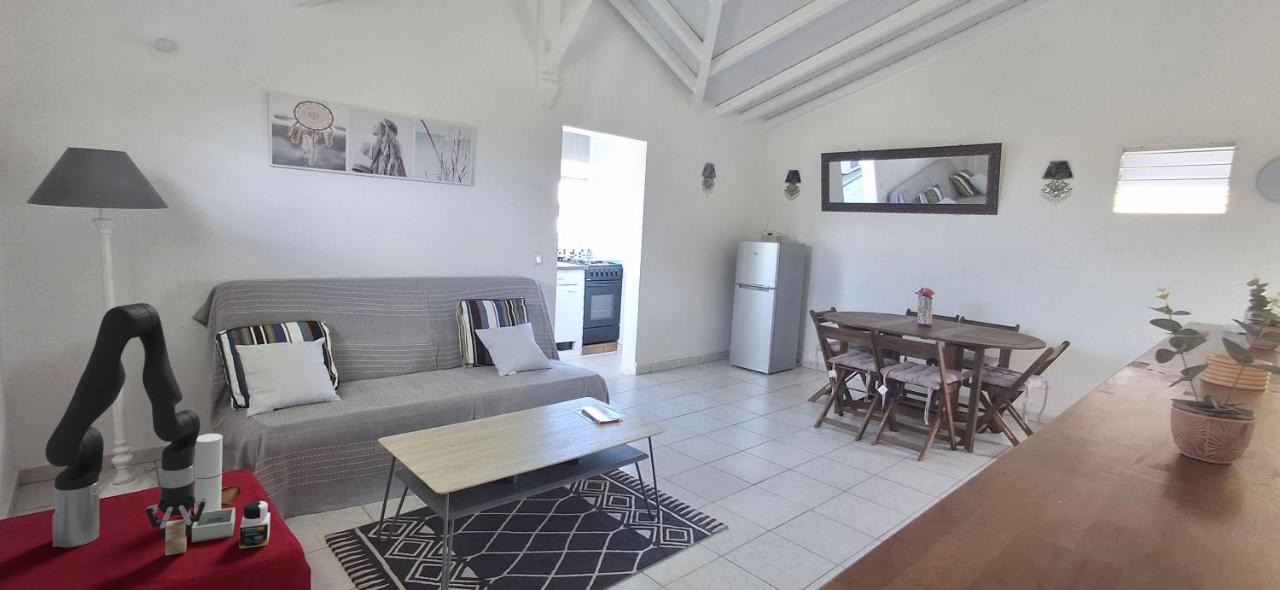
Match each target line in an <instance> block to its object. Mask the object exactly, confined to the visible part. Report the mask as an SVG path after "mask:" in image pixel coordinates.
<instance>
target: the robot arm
mask: <svg viewBox="0 0 1280 590" xmlns="http://www.w3.org/2000/svg"><path fill="white" fill-rule="evenodd" d="M134 338H135V339H136V338H139V340H140V343H142V346H143V351H144V360H143V361H144V362H143V367H142V369H143V370H142V376H141V377H142V385H143V387H144V390H145V392H146V395H147V397H148V399H149V402H150V404H151V414H152V427H153V430H154V433H155V435H156V436H157V437H158V439H160V440H161V441H163V442H166V443H167V442H168V443H169V445H167V446H166V447H164V448H163V450H162V453H161V471H160V476H159V477H160V478H159V479H160V480H159V481H160V483H159V484H160V485H159V486H160V487H159V488H160V489H159V502H158V503H157V504H154V505H152V504H150V505H147V508H146V509H145V513H146V516H147V518H148V520H149V523H150V525H151V527H152V528H159V531H160V532H159V537H160V539H162V541H165V540H166V524H167V521H169V519H170V517H171V518H172V517H174V516H182V518H183V519H185V522H186V533H185V537H187V538H188V537H189V536H190V535H192V527H193V523H194V522H198V521H199V519H200V517H201V514H202V512H203V509H204V506H205V504H206V499H202V500H196V499H195V497H194V495H193V494H194V488H195V467H194V450H195V444H196V441H197V438H198V436H199V433H200V431H201V430H200V429H201V419H200V416H199V414H198V413H197V412H195V411H194V410H191V409H184V410H181V411H178V412H176V406H177V404H179V403H180V402H182V400H183V399H184V398H183V397H184V396H183V393H182V391H181V388H180V386H179V384H178V381H177V379H176V376H175V374H174V372H173V369H172V366H171V362H170V358H169V353H168V348H167V344H166V339H165V335H164V329H163V325H162V320H161V317H160V314H159V313H158V311H157V309H156V308H155V307H154V306H153V305H151V304H150V303H146V302H145V303H144V302H139V303H133V304H131V303H130V304H124V305H118V306H115V307H112V308H109V310H107V311H106V312H105V314H104V315H103V317H102V320H101V323H100V326H99V329H98V333H97V337H96V339H95V343H94V347H93V349H92V352H91V354H90V357H89V359H88V361H87V364H86V366H85V367H84V368H85V369H84V371H83V372H82V374H81V376H80V378H79V381H78V383H77V386H76V388H75V390H74V394H73V395H72V398H71V400H70V402H69V404H68V406H67V408H66V410H65V412H64V415H63V416H62V418H61V419H60V421H59V423H58V425H57V426H56V428H55V429H54V431H53V433H52V434H51V435H50V437H49V439H48V441H47V443H46V446H45V457H46V460H47V461H48V463H49V464H50V465H52V466H54V467H58V468H62V467H65V468H64V469H63V470H62V471H61V472H60V473H58V474H57V475H56V476H55V477H54V510H55V511H54V512H53V514H52V519H51V520H52V548H57V547H58V548H75V547H80V546H84V545H86V544H89V543H91V542H93V541H95V540H97V539H98V538H99V537H100V475H101V472H102V471H103V466H104V465H103V464H104V450H105V448H104V447H105V444H104V439H103V435H102V433H101V432H100V431H99V429H98V428H96V427H94V426H92V425H93V423H95V421H96V420H98V418H100V417H101V416H102V415H103V414H104V413H105V412H106V411H107V410H108V409H109V408H110V407H112V405H113V404H114V403H115V401H116V400H117V399H118V398H119V395H120V393H121V390H122V388H123V387H124V384H125V381H126V375H127V374H126V371H125V368H124V365H123V361H122V355H123V352H124V350H125V349H126V346H127V345H128V343H129V342H130V340H131V339H134ZM194 504H196V508H198V510H197V513H196V515H195V514H194V515H193V516H192V513H191V510H190V509H191V508H192V507H193V505H194ZM158 509H159V510H160V511H161V512H162V513H163V514H164V516H163V518H162V520H159V518H158V515H157V512H158Z"/></svg>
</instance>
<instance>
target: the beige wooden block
mask: <svg viewBox="0 0 1280 590" xmlns="http://www.w3.org/2000/svg"><path fill="white" fill-rule="evenodd" d="M185 533H186V522H185V519H184V518H183V519H177V520H168V521H167V524H166V540H164V541H165V542H164V543H165V549H164V551H165V552H164V553H165V556H169V555H170V556H171V555H177V554H184V553H186V550H187V538H188V537H185Z"/></svg>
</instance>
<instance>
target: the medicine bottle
mask: <svg viewBox="0 0 1280 590" xmlns="http://www.w3.org/2000/svg"><path fill="white" fill-rule="evenodd" d="M268 504H269V503H267V502H266V501H263V500H256V501H255V500H254V501H251V502H249V503H247V504H245V505H244V507H243V515H242V517H241V518H242V519H241V522H240V526H239V547H238V548H239V549H247V548H253V547H254V548H255V547H261V546H267V545H268V542H269V538H270V533H271V531H270V530H271V529H270V528H271V512H268Z"/></svg>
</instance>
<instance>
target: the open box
mask: <svg viewBox="0 0 1280 590" xmlns="http://www.w3.org/2000/svg"><path fill="white" fill-rule="evenodd" d="M235 523H236V507H229V508H221V509H220V510H212V511H204V512H202V514H201V517H200V519H199V521H198V522H193V523H192V532H191V543H197V542H205V541H210V540H216V539H223V538H224V539H225V538H231V537H233V535H234V528H235Z"/></svg>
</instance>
